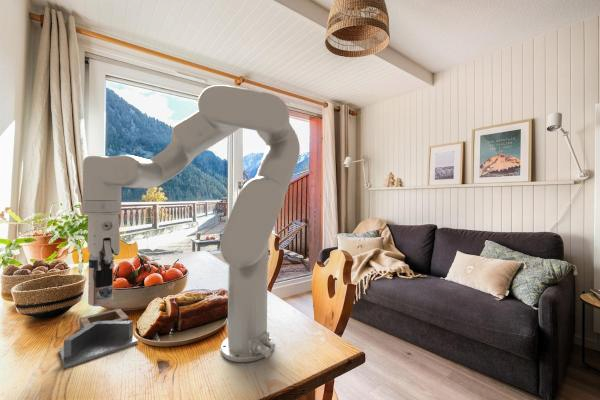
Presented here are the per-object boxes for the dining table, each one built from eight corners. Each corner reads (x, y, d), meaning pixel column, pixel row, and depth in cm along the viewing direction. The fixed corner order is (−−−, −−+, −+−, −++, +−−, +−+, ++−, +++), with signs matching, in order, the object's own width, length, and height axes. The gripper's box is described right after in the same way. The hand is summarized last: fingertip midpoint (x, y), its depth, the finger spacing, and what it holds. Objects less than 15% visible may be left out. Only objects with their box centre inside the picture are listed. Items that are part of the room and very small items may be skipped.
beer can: (97, 308, 61) (98, 256, 61) (83, 305, 63) (83, 254, 63) (117, 301, 66) (118, 252, 66) (103, 298, 68) (104, 251, 68)
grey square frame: (128, 328, 76) (129, 317, 76) (85, 341, 69) (85, 329, 69) (119, 317, 82) (119, 308, 82) (79, 328, 75) (79, 318, 75)
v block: (137, 343, 68) (138, 324, 68) (64, 369, 57) (64, 346, 57) (126, 330, 74) (126, 313, 74) (59, 351, 64) (59, 331, 64)
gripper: (130, 209, 62) (129, 288, 62) (112, 207, 73) (111, 273, 73) (89, 209, 56) (88, 296, 56) (76, 207, 68) (75, 279, 68)
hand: (101, 282), depth 65 cm, fingers closed on beer can, 4 cm apart
